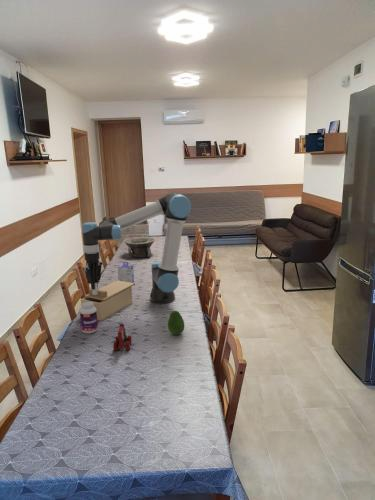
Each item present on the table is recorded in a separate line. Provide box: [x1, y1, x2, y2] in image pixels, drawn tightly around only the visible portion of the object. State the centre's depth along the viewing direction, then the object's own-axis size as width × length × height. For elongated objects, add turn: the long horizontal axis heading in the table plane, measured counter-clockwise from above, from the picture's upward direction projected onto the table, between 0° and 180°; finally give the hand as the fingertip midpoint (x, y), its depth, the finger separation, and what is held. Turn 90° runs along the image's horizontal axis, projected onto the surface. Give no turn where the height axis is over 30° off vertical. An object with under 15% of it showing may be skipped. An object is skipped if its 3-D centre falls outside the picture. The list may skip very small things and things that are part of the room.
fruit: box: [167, 310, 185, 336], centre depth 175 cm, size 8×8×12 cm
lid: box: [84, 279, 136, 301], centre depth 207 cm, size 13×28×4 cm, turn 153°
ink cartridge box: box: [117, 261, 135, 283], centre depth 250 cm, size 10×6×14 cm, turn 85°
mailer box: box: [80, 286, 133, 322], centre depth 206 cm, size 13×28×10 cm, turn 153°
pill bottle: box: [79, 302, 99, 334], centre depth 180 cm, size 8×8×14 cm
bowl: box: [123, 236, 156, 259], centre depth 320 cm, size 27×26×15 cm
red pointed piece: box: [113, 322, 133, 352], centre depth 165 cm, size 7×12×10 cm, turn 2°
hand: (95, 294), depth 197 cm, fingers closed
